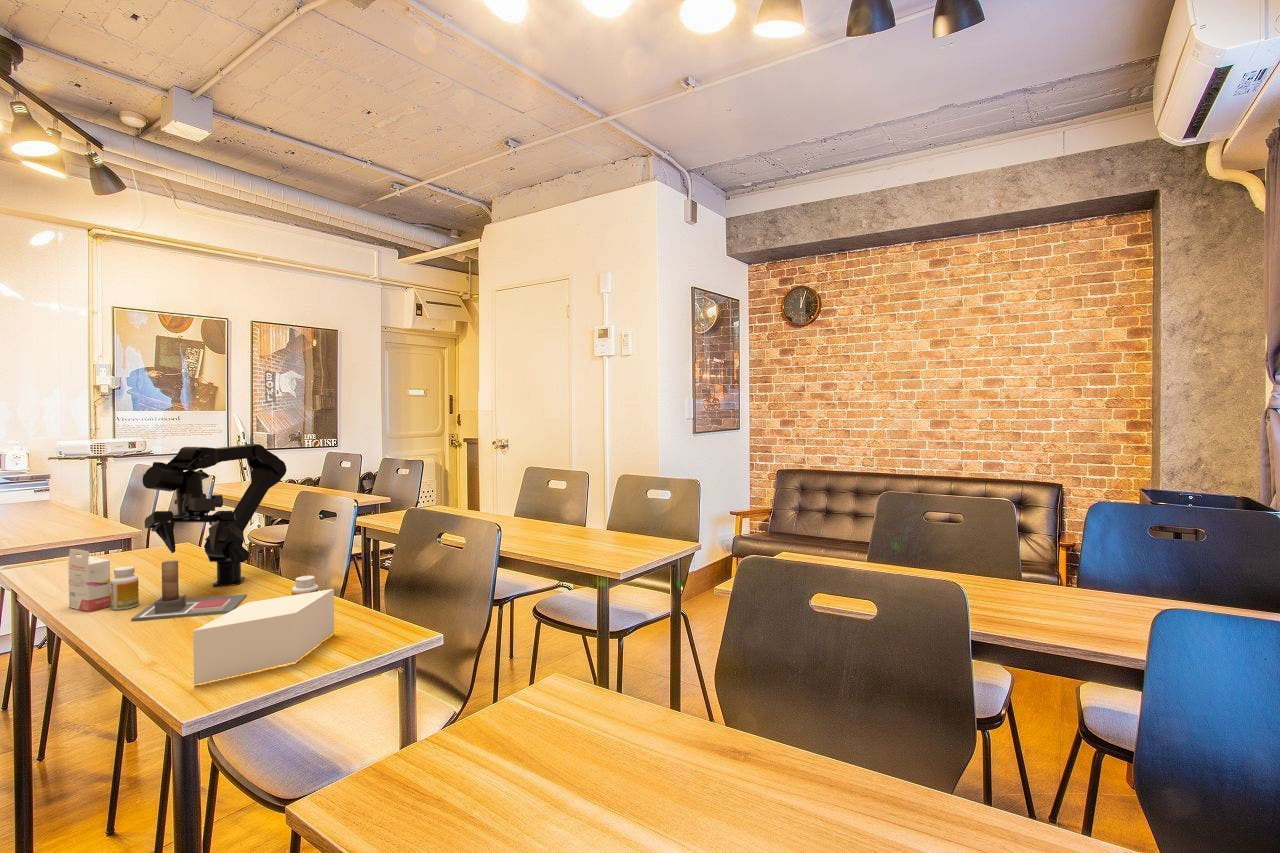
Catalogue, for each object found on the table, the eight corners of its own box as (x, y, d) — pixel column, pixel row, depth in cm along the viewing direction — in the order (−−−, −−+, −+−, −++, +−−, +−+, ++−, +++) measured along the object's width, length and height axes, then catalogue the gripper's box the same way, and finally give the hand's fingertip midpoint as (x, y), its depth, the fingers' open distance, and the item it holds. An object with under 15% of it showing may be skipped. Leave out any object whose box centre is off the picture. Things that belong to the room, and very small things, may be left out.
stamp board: (155, 603, 160) (155, 596, 159) (246, 596, 166) (246, 589, 166) (131, 621, 146) (131, 613, 146) (231, 612, 153) (230, 605, 153)
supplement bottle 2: (311, 625, 144) (311, 580, 144) (286, 625, 144) (286, 581, 144) (323, 617, 150) (322, 574, 150) (299, 617, 150) (298, 574, 150)
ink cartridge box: (112, 606, 157) (111, 547, 157) (88, 612, 152) (87, 551, 152) (91, 602, 160) (90, 544, 160) (67, 608, 156) (66, 548, 155)
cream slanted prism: (169, 680, 116) (168, 624, 115) (311, 630, 142) (310, 584, 142) (219, 695, 110) (218, 637, 109) (357, 640, 136) (357, 593, 136)
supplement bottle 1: (144, 604, 159) (143, 565, 159) (125, 610, 154) (124, 571, 153) (124, 603, 160) (124, 565, 159) (104, 610, 154) (104, 570, 154)
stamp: (161, 607, 154) (160, 560, 154) (185, 605, 156) (185, 558, 156) (154, 613, 150) (154, 565, 150) (180, 611, 152) (179, 563, 152)
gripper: (162, 481, 154) (166, 543, 150) (243, 483, 170) (249, 540, 165) (142, 496, 159) (145, 557, 155) (222, 497, 175) (227, 552, 170)
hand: (194, 551), depth 161 cm, fingers open, 9 cm apart
